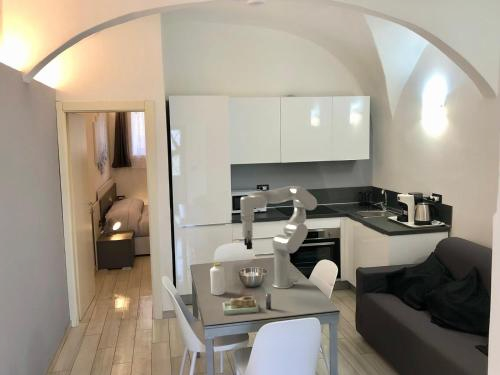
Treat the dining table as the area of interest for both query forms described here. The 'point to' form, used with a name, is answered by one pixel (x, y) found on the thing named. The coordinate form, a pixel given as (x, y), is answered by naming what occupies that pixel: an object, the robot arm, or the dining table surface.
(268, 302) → the steel stake
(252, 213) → the robot arm
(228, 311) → the sage tray
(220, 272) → the potion bottle
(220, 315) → the dining table surface
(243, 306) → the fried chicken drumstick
